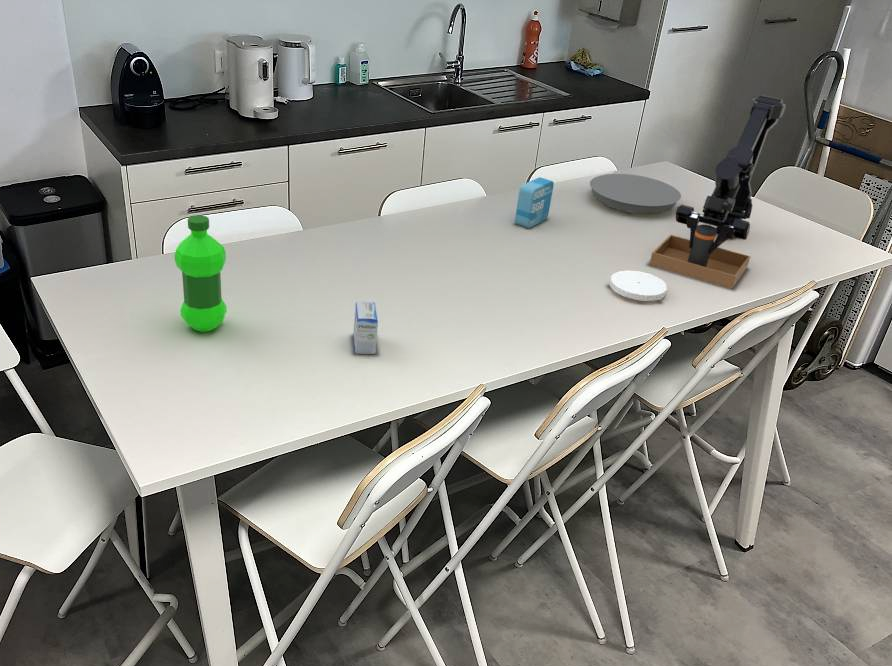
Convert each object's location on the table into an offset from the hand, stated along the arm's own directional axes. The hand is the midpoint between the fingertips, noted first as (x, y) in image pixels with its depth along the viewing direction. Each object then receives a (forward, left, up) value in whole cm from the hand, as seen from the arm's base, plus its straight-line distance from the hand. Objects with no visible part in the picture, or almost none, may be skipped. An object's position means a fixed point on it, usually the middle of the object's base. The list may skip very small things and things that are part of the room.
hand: (699, 250), depth 224 cm
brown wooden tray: (-4, -2, -7) cm, 8 cm away
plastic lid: (+23, +2, -7) cm, 24 cm away
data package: (+19, -45, -7) cm, 49 cm away
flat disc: (-22, -45, -7) cm, 51 cm away
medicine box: (+99, -4, -7) cm, 99 cm away
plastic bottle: (+127, -26, -7) cm, 130 cm away
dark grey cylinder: (-1, -1, -6) cm, 6 cm away
